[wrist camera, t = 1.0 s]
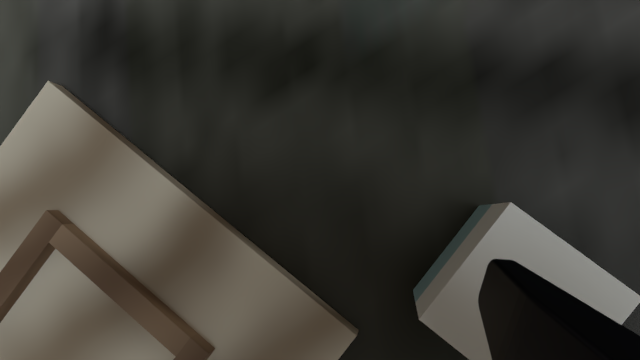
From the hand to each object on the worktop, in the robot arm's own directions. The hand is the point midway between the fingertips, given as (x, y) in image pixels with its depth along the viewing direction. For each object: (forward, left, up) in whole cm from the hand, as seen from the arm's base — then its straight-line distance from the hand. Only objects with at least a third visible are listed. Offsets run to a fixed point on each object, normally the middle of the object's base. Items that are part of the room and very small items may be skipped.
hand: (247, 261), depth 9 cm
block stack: (-6, -2, -13) cm, 15 cm away
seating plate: (+6, +12, -13) cm, 18 cm away
